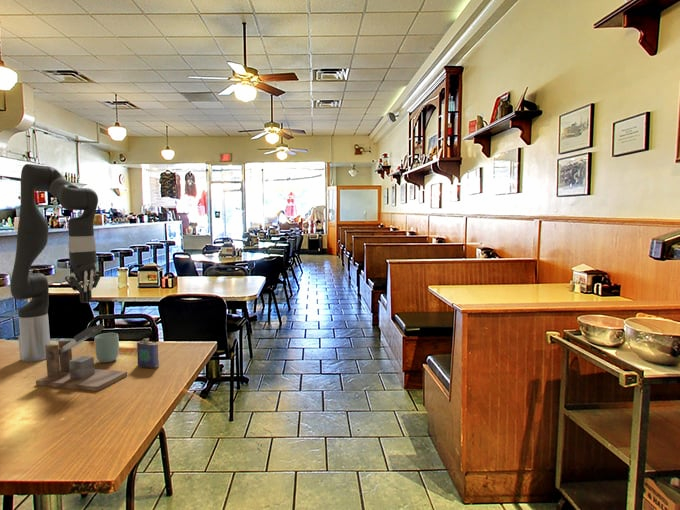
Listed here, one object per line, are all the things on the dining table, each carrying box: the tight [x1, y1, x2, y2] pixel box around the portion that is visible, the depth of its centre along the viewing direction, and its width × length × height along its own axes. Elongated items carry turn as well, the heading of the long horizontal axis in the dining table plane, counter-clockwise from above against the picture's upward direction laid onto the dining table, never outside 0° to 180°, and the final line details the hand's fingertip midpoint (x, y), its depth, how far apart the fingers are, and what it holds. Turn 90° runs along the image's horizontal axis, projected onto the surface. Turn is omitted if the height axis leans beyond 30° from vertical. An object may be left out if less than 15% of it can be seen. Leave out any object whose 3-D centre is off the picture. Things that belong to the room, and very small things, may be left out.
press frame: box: [35, 339, 128, 392], centre depth 141 cm, size 24×13×12 cm, turn 77°
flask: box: [136, 337, 160, 369], centre depth 154 cm, size 9×3×11 cm, turn 68°
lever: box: [58, 323, 105, 356], centre depth 141 cm, size 19×6×2 cm, turn 77°
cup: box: [94, 332, 120, 364], centre depth 160 cm, size 8×8×10 cm
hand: (86, 302), depth 139 cm, fingers closed
